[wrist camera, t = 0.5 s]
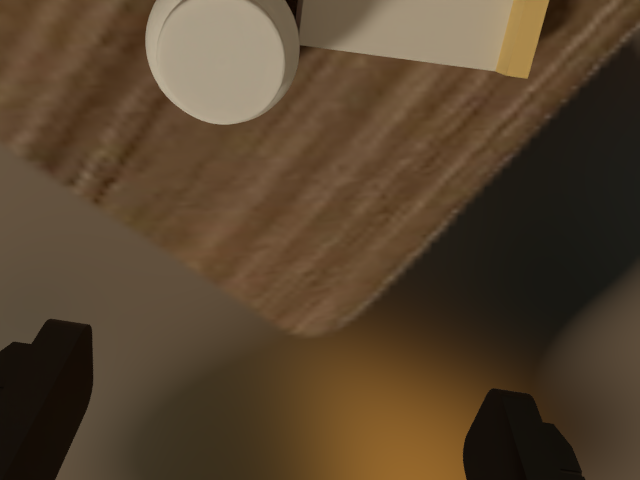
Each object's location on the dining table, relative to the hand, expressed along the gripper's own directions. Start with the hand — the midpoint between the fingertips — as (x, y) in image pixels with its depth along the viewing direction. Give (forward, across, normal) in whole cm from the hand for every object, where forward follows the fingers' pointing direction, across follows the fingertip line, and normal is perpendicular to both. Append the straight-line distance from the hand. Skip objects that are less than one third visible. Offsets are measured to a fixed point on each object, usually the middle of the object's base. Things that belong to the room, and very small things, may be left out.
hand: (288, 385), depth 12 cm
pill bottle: (+19, +4, -2) cm, 20 cm away
